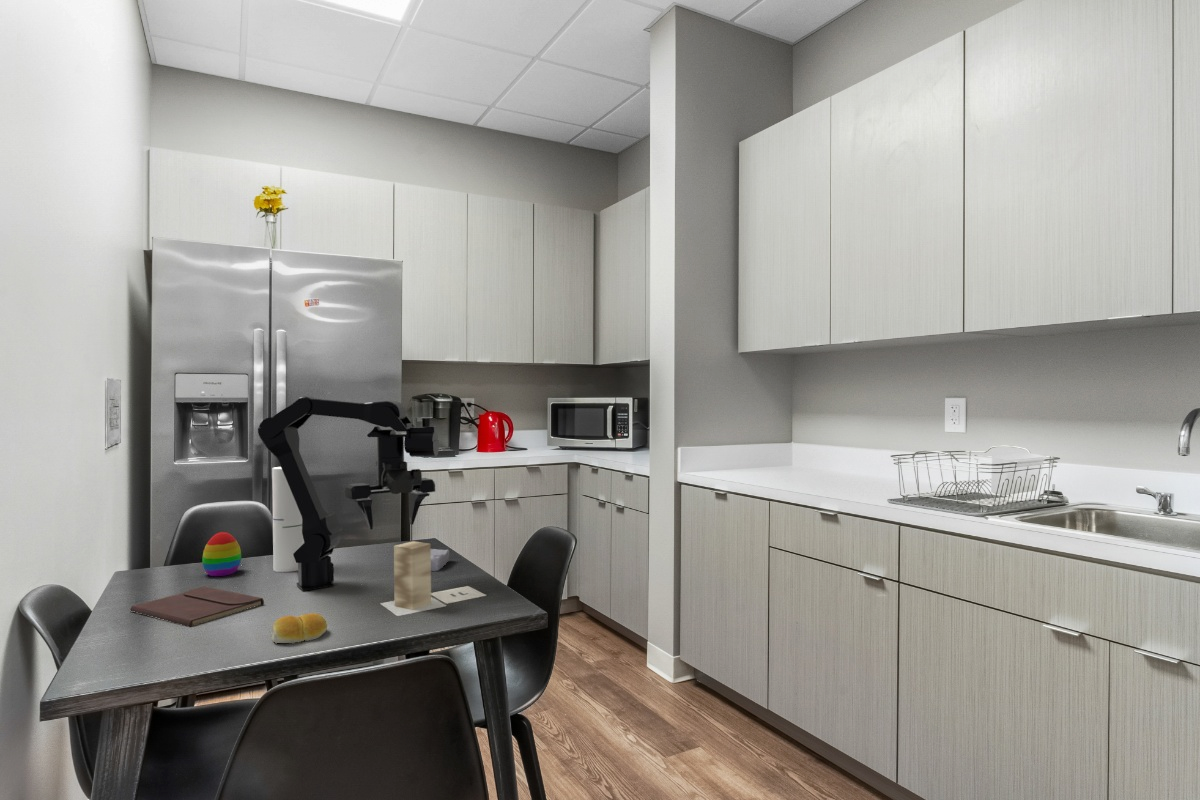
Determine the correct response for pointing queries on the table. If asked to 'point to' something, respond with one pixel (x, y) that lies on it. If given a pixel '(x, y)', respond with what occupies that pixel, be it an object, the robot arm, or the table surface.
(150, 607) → the notebook
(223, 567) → the decorative egg
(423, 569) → the maple block
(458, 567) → the table surface
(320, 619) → the bread roll
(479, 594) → the tile
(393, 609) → the grey mat
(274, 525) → the cylindrical container
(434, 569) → the stone block
